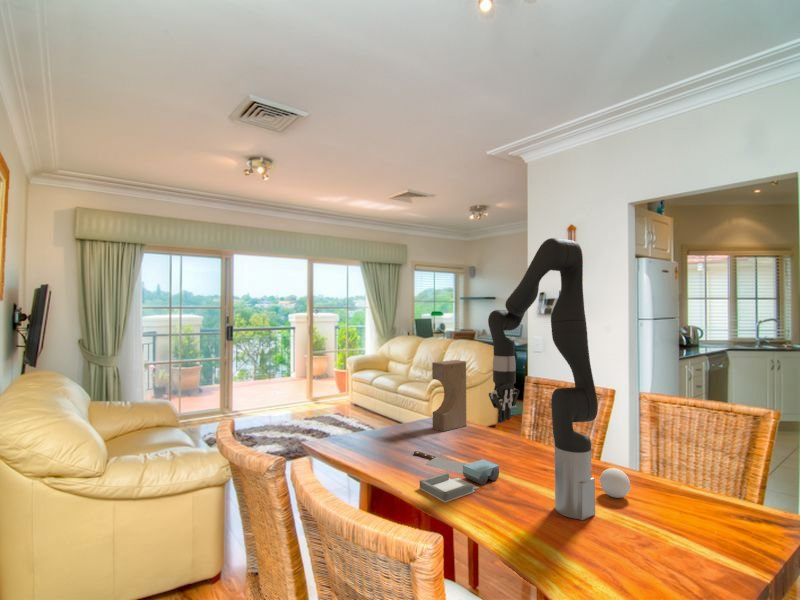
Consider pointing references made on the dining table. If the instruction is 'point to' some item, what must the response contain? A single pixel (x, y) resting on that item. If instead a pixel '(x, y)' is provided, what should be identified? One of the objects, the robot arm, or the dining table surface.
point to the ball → (615, 482)
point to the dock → (446, 487)
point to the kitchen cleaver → (442, 463)
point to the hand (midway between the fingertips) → (504, 420)
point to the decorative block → (450, 395)
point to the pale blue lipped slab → (481, 471)
